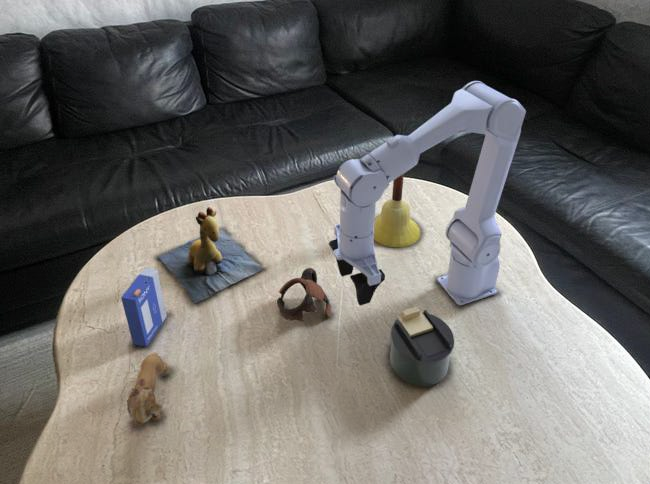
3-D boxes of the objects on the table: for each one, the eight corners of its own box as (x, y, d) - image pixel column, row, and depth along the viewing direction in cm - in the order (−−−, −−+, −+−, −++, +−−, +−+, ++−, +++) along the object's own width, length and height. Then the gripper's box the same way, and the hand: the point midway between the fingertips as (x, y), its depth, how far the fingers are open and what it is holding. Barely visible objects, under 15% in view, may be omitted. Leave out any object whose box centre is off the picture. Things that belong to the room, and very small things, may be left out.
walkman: (146, 347, 93) (134, 298, 87) (133, 344, 93) (120, 295, 88) (168, 314, 100) (158, 267, 94) (155, 312, 100) (144, 265, 94)
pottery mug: (333, 332, 96) (312, 311, 91) (290, 340, 100) (268, 320, 95) (336, 276, 105) (317, 254, 100) (296, 285, 108) (276, 265, 104)
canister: (377, 347, 93) (380, 317, 89) (428, 330, 96) (432, 300, 92) (407, 396, 84) (411, 366, 80) (462, 375, 88) (468, 345, 84)
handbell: (371, 212, 129) (376, 122, 116) (421, 218, 126) (431, 127, 114) (365, 243, 118) (370, 148, 106) (419, 250, 116) (430, 154, 104)
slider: (396, 319, 90) (397, 311, 89) (419, 311, 91) (420, 304, 91) (409, 337, 86) (410, 330, 86) (433, 329, 88) (434, 322, 87)
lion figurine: (168, 440, 78) (159, 403, 73) (131, 448, 77) (120, 411, 72) (170, 361, 90) (162, 325, 86) (138, 366, 89) (129, 330, 85)
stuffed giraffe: (195, 303, 102) (186, 237, 95) (158, 258, 114) (148, 197, 107) (263, 271, 111) (260, 208, 104) (222, 232, 123) (216, 174, 116)
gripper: (318, 209, 90) (319, 267, 97) (353, 260, 78) (351, 323, 85) (355, 200, 92) (353, 258, 99) (394, 249, 81) (389, 311, 87)
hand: (354, 287), depth 92 cm, fingers open, 7 cm apart
